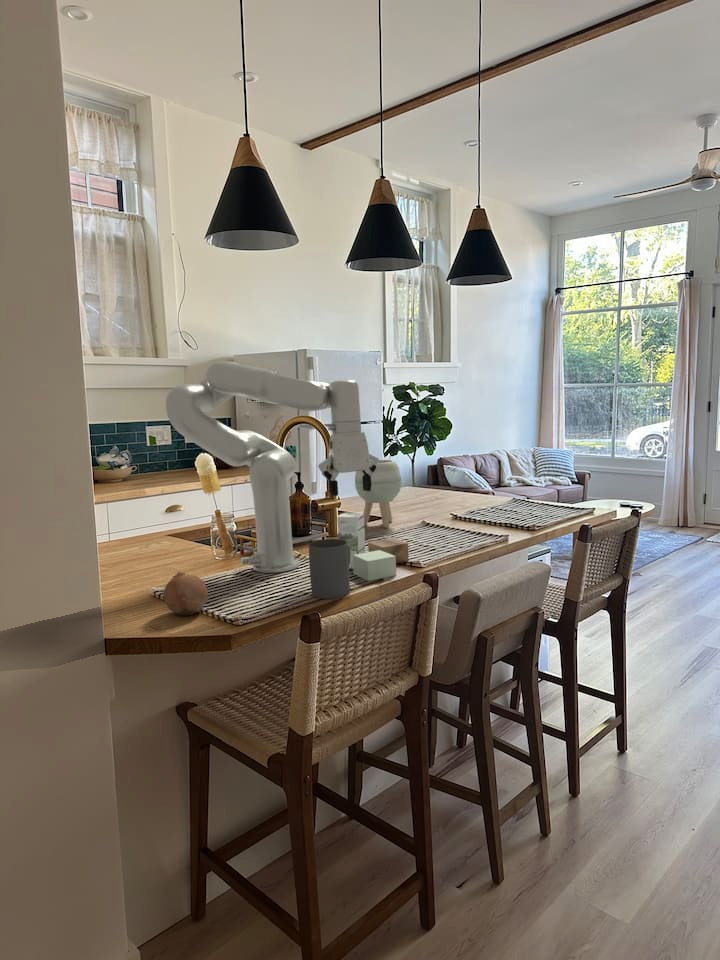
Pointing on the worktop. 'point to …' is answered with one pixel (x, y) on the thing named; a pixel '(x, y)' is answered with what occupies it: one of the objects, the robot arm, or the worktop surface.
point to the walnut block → (391, 548)
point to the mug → (329, 568)
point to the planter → (380, 489)
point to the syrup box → (352, 533)
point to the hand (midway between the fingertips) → (351, 492)
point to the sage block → (374, 565)
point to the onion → (185, 594)
